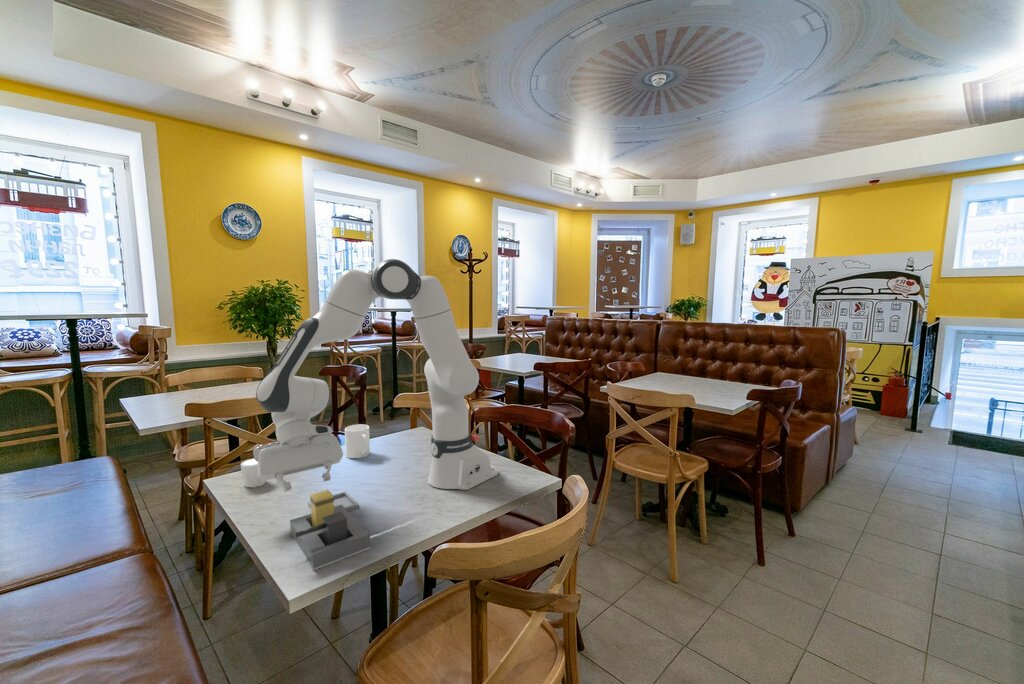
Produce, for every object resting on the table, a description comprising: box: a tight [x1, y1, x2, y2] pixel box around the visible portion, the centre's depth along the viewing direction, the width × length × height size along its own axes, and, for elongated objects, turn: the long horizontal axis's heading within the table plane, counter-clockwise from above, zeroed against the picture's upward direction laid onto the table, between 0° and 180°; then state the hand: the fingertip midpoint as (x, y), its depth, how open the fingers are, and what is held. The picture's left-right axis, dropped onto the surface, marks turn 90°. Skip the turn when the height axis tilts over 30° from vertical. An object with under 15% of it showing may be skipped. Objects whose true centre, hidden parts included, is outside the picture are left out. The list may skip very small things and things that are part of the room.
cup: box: [344, 423, 371, 459], centre depth 150 cm, size 8×12×10 cm
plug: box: [309, 489, 334, 527], centre depth 100 cm, size 4×4×9 cm
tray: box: [307, 490, 360, 512], centre depth 112 cm, size 10×10×1 cm
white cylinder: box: [240, 457, 267, 488], centre depth 127 cm, size 7×7×7 cm
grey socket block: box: [289, 505, 371, 571], centre depth 96 cm, size 14×18×8 cm
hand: (308, 485), depth 107 cm, fingers open, 8 cm apart
